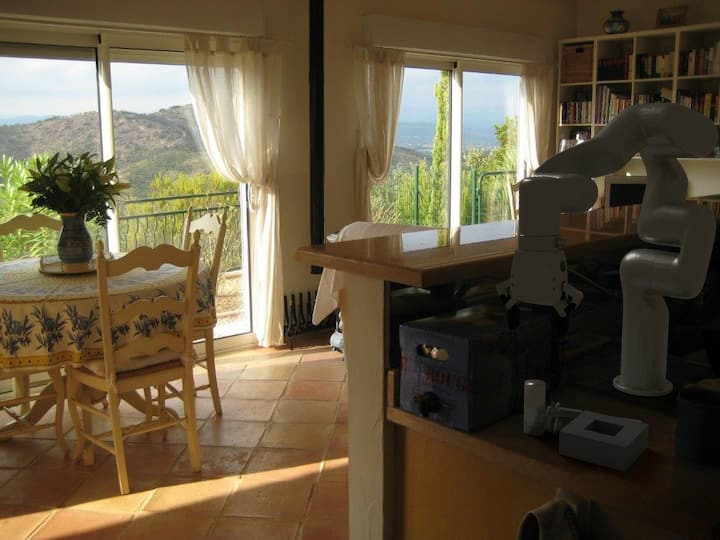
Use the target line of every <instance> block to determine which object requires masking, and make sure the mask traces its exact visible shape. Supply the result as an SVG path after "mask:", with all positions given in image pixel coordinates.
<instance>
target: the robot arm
mask: <svg viewBox="0 0 720 540" xmlns="http://www.w3.org/2000/svg"><path fill="white" fill-rule="evenodd" d="M718 139H719V133H718V128H717V126H716V123H715V122H714V121H713V120H712V119H711V118H710V117H708V116H707V115H705V114H703V113H701V112H699V111H696V110H694V109H693V108H690V107H688V106H685V105H684V104H680V103H675V102H656V103H655V102H653V103H637V104H633V105H628V106H627V107H625V108H623V109H622V110H621V111H620V112H618V113H617V114H616V115H615V116H614V117H613V118H612V119H611V120H610V121H608V122H607V124H606V125H605V126H603V127H602V128H601V129H600V130H599V131H598V132H597V133H595V135H594V136H592V137H591V138H589V139H587V140H584V141H582V142H579V143H577V144H575V145H573V146H571V147H568V148H566V149H563V150H561V151H559V152H557V153H556V154H554V155H552V156H550V157H549V158H547V159H546V160H544V161H543V162H542V163H541V164H540V165H539V166H538V167H536V168H535V170H533V172H531V174H530V175H529V176H528V177H524V178H522V179H521V180H520V182H519V183H518V184H519V185H518V233H517V234H518V236H517V239H518V240H517V243H518V244H517V245H518V246H517V247H518V248H516V249H515V250H514V254H513V259H512V262H511V263H512V264H511V270H510V278H509V279H507V280H503V281H501V282H499V283H497V284H496V285H495V289H496V292H497V294H498V295H499V299H500V301H501V302H502V304H503V305H504V307H505V309H506V310H507V325H508V329H509V330H510V331H513V330H515V329H517V328H519V327H520V322H521V321H520V319H521V318H520V316H521V315H520V312H521V309H520V306H518V305H519V303H529V304H536V305H540V306H541V305H543V306H553V308H554V309H555V310H556V312H557V313H558V316H556V329H555V330H556V335H555V336H556V337H557V338H561V339H562V337H564V336H566V335H567V333H568V332H569V329H570V315H571V314H572V313H573V312H574V311H575V310H576V309H577V308H578V307H580V306H579V305H580V304H581V302H582V300H583V299H584V297H585V294H584V293H583V292H582V291H580V290H578V289H577V288H575V287H573V286H572V285H570V284H569V279H568V278H569V277H568V274H569V273H568V267H567V259H566V254H565V251H564V250H561V248H562V247H566V246H567V243H568V241H567V239H566V238H562V235H561V214H574V215H575V214H576V215H579V214H583V213H585V212H587V211H590V210H591V209H593V207H594V206H595V204H596V203H597V201H598V198H599V188H598V185H597V183H596V181H595V180H594V179H597V178H601V177H606V176H608V175H611V174H615V173H617V172H620V171H621V170H622V169H624V168H625V166H626V165H627V164H628V163H629V162H631V160H632V159H633V158H634V157H635V156H636V155H638V154H639V157H640V159H641V161H642V164H643V166H644V169H645V172H646V185H645V188H644V189H645V190H644V194H643V199H642V203H641V208H640V211H639V216H638V220H637V229H636V230H637V236H638V237H639V239H640V240H642V241H643V242H645V243H649V244H653V245H658V246H667V247H677V248H680V251H679V252H673V251H667V250H660V249H651V248H650V249H649V248H638V249H633V250H631V251H629V252H627V253H626V254H625V255H624V256H623V257H622V259H621V262H620V266H619V277H620V284H621V289H622V307H623V308H622V309H623V310H622V326H621V327H622V331H621V332H622V333H621V357H620V358H621V361H620V375H617V376H615V377H614V378H613V380H612V382H613V383H612V385H613V387H614V388H615V389H616V390H618V391H620V392H622V393H625V394H629V395H633V396H640V397H662V396H667V395H668V394H671V393H672V392H673V391H674V390H673V387H674V385H673V383H672V382H671V381H669V380H668V379H666V375H667V374H666V373H667V360H668V357H667V356H668V343H669V342H668V341H669V339H668V338H669V322H670V321H669V320H670V313H669V309H668V305H667V303H666V301H665V298H664V297H667V298H668V297H670V298H674V299H675V298H676V299H682V300H689V299H694V298H696V297H697V296H698V295H699V294H700V293H701V291H702V289H703V287H704V284H705V281H706V279H707V273H708V270H709V265H710V260H711V256H712V253H713V252H712V251H713V247H714V243H715V237H716V233H717V221H716V215H715V214H714V211H713V210H712V209H711V208H710V207H709V206H707V205H706V204H701V203H695V202H693V203H692V202H686V199H687V192H688V188H689V179H688V174H687V173H686V170H685V168H684V167H683V165H682V163H680V161H679V160H678V159H701V158H705V157H707V156H709V155H711V154H712V153H713V152H714V150H715V149H716V146H717V144H718ZM507 288H509V292H510V293H508V292H507ZM569 296H570V297H571V298H572V300H571V301H570V303H569V304H568V303H567V300H568V297H569Z"/></svg>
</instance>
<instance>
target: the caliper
mask: <svg viewBox="0 0 720 540" xmlns="http://www.w3.org/2000/svg"><path fill="white" fill-rule="evenodd" d="M560 406H561V403H560V402H559V401H557V403H555V402H554V401H551V405H548V406H547V407H546V409H545V432H548V433H549V432H550V428H551V425H552V421H553V418H555V422H554V425H553V431H554V432H555V433H556V432H559V431H560V429H561V427H562V425H563V423H564V422H565V421H566V422H567V423H570V422H571V421H573V420H574V419H575V418H576V417H578V416H579V415H580V414H581V413H583V412H584V411H583V410H581V409H575V408H574V409H573V408H568V407H560ZM616 417H617V416H616ZM617 418H619V417H617ZM621 418H622V419H626V420H631V421H635V422H640V423H644V422H643V421H642V420H640V419H633V418H625V417H621Z"/></svg>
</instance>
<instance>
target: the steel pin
mask: <svg viewBox="0 0 720 540" xmlns="http://www.w3.org/2000/svg"><path fill="white" fill-rule="evenodd" d="M523 383H524V386H523V387H524V388H523V389H524V391H523V392H524V393H523V395H524V396H523V397H524V398H523V400H524V401H523V402H524V403H523V404H524V405H523V432H524V433H525V434H526V435H529V436H542V435H545V432H546V430H545V413H546V385H547V383H546V382H545V381H544V380H540V379H527V380H525V381H524V382H523Z"/></svg>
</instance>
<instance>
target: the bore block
mask: <svg viewBox="0 0 720 540" xmlns="http://www.w3.org/2000/svg"><path fill="white" fill-rule="evenodd" d="M582 412H583V413H581V414H580V415H579V416H578V417H576V418H575V419H574V420H573V421H571V422H568V423H567V424H566V425H565V426H564V427H563V428H560V429H559V430H558V432H559V433H558V434H559V436H558V437H559V438H558V439H559V440H558V455H561V456H565V457H568V458H570V459H571V458H572V459H576V460H579V461H583V462H587V463H591V464H594V465H597V466H600V467H601V466H602V467H606V468H609V469H613V470H616V471H619V472H620V471H621V472H624V473H625V472H627V470H629V468H630V467H631V466H632V465H633V464H634V463H635V462H636V461H637V460H638V459H639V458H640V456H641V455H642V454H643V453H644V452H645V451H646V450H647V449H648V447H649V425H650V424H648V423H644V422H643V423H640V422H635V421H631V420H626V419H627V418H626V419H622V418H623V417H618V418H617V416H612V415H608V414H603V413H599V412H594V411H589V410H584V411H582Z"/></svg>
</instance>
